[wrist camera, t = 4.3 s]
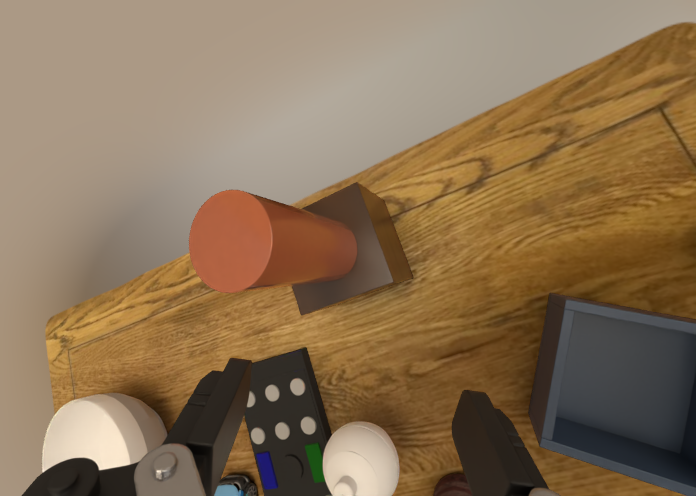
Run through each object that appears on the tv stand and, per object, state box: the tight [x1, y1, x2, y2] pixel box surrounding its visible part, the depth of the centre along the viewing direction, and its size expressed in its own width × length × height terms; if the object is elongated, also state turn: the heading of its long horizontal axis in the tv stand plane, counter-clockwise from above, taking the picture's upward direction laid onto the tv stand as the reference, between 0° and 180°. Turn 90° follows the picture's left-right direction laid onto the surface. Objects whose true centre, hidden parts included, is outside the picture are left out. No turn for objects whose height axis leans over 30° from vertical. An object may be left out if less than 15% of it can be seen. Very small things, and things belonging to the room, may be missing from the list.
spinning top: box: [323, 421, 399, 496], centre depth 34 cm, size 8×8×12 cm
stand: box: [292, 182, 413, 315], centre depth 37 cm, size 10×10×10 cm
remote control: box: [244, 348, 333, 496], centre depth 42 cm, size 11×30×2 cm, turn 19°
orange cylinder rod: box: [189, 190, 357, 293], centre depth 26 cm, size 6×6×14 cm
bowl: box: [42, 393, 167, 472], centre depth 49 cm, size 19×19×9 cm
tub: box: [528, 293, 696, 496], centre depth 29 cm, size 13×13×7 cm
